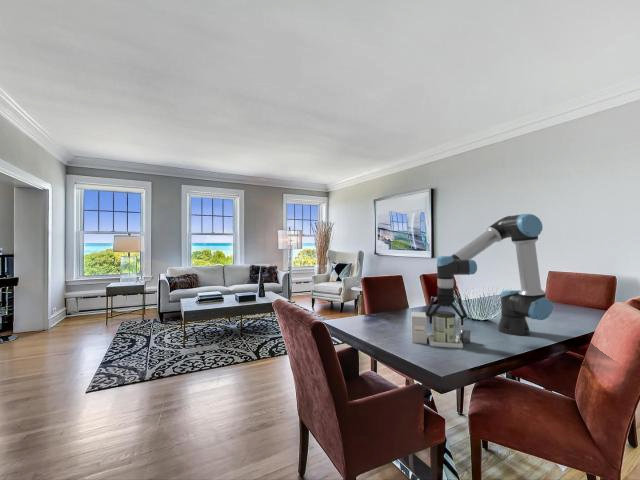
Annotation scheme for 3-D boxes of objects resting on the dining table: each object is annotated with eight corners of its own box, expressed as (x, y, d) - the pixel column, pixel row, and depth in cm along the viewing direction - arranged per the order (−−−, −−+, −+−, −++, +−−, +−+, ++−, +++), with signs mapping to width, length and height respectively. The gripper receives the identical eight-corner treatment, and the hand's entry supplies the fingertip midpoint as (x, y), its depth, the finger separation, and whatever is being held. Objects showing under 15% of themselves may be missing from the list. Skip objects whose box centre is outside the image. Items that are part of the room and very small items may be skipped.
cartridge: (469, 341, 158) (469, 329, 158) (471, 344, 153) (471, 331, 153) (458, 340, 159) (458, 328, 160) (460, 343, 155) (460, 331, 155)
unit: (425, 337, 165) (425, 312, 165) (426, 344, 154) (426, 317, 154) (411, 336, 167) (411, 311, 167) (411, 342, 155) (411, 316, 156)
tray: (457, 339, 161) (457, 335, 161) (462, 348, 147) (462, 344, 147) (427, 337, 165) (427, 333, 165) (429, 346, 150) (429, 341, 150)
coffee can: (438, 337, 163) (438, 310, 163) (458, 341, 156) (458, 313, 156) (429, 341, 155) (429, 313, 156) (450, 346, 148) (450, 316, 149)
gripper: (470, 286, 156) (471, 330, 156) (419, 285, 163) (420, 327, 162) (473, 288, 149) (474, 334, 149) (420, 287, 155) (421, 331, 155)
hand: (446, 331), depth 155 cm, fingers open, 12 cm apart
